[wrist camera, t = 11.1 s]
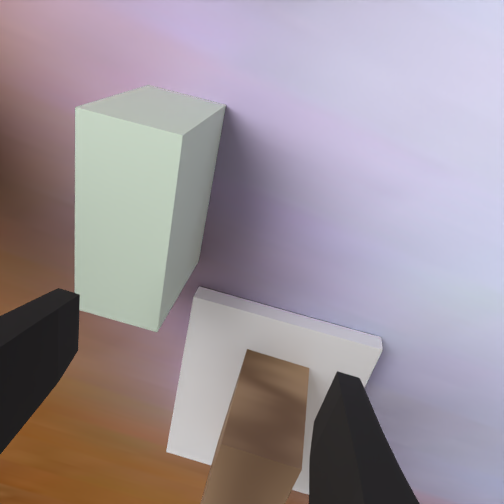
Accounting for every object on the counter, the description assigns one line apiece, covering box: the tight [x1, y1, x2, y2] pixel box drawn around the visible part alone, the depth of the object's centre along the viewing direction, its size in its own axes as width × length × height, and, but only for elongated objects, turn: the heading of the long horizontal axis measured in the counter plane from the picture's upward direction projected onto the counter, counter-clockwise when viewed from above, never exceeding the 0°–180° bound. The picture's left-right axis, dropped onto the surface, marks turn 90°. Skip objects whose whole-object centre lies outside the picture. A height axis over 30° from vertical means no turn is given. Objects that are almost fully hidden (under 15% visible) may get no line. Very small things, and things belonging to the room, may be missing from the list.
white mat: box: [166, 286, 383, 495], centre depth 25 cm, size 10×13×1 cm
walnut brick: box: [200, 349, 309, 504], centre depth 22 cm, size 4×8×6 cm, turn 166°
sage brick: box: [75, 85, 226, 332], centre depth 18 cm, size 4×8×6 cm, turn 168°
